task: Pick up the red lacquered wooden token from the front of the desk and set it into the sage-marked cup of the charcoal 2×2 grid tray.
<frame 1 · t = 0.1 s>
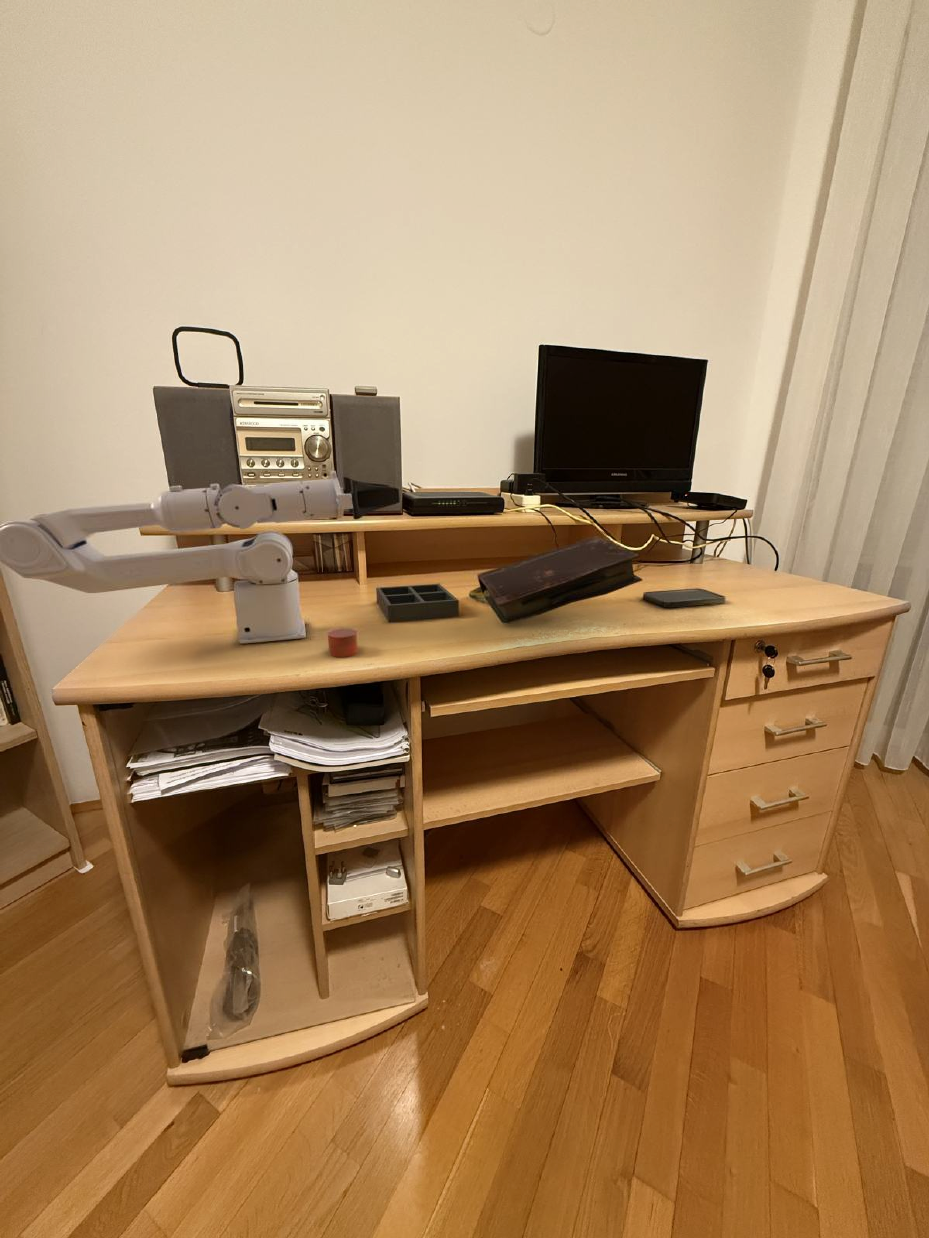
hand: (394, 493, 77), 22 cm above the table, tool horizontal, fingers open, 7 cm apart
token: (343, 652, 71), on the table
grid: (416, 609, 92), on the table
diary: (556, 590, 90), point 4 cm above the table, touching seal
phone: (683, 601, 100), on the table
seal: (505, 592, 98), point 2 cm above the table, touching diary
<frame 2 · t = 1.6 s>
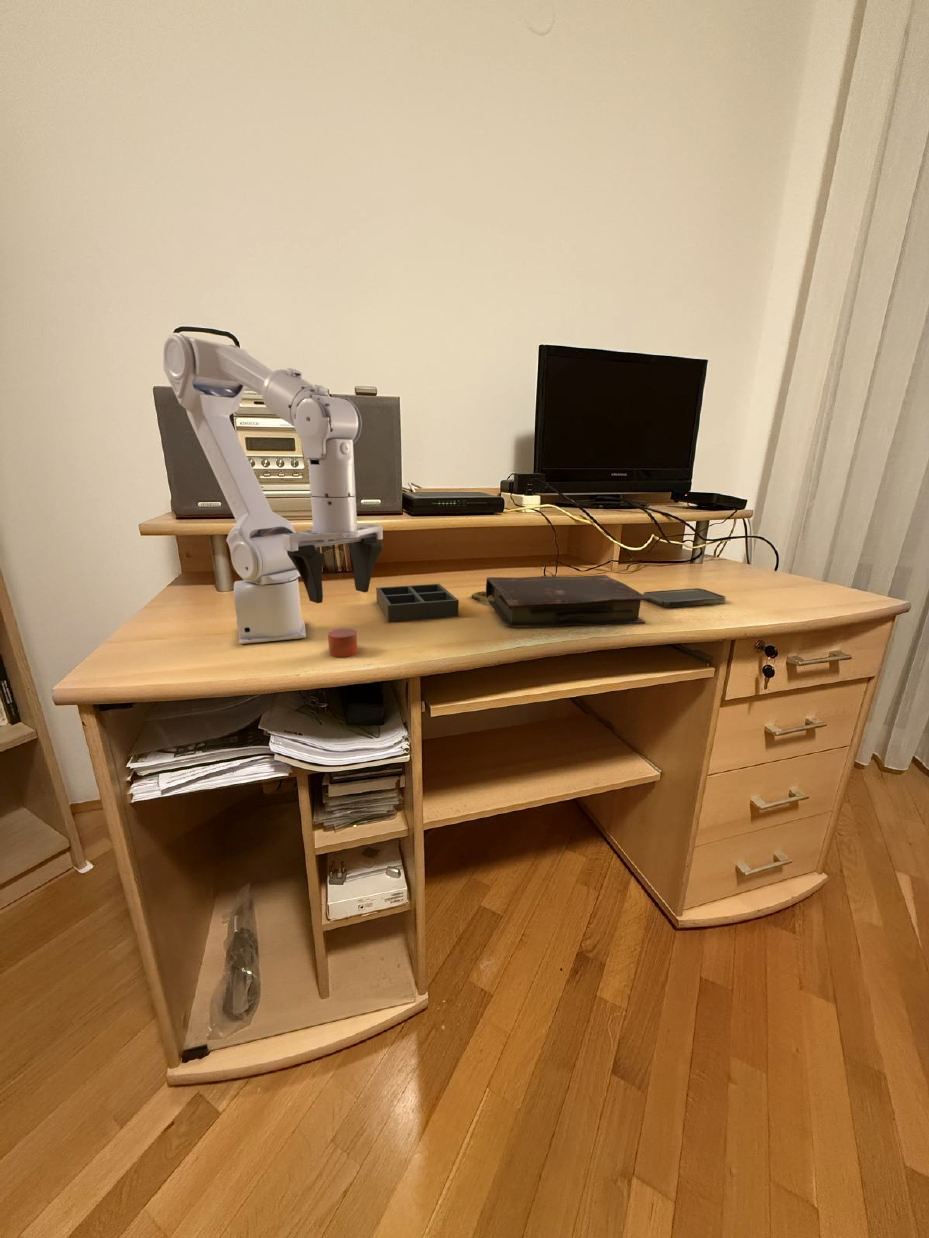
hand: (339, 596, 68), 8 cm above the table, tool pointing down, fingers open, 7 cm apart
diary: (560, 612, 92), on the table, touching seal
seal: (508, 603, 99), on the table, touching diary
everything else where it was.
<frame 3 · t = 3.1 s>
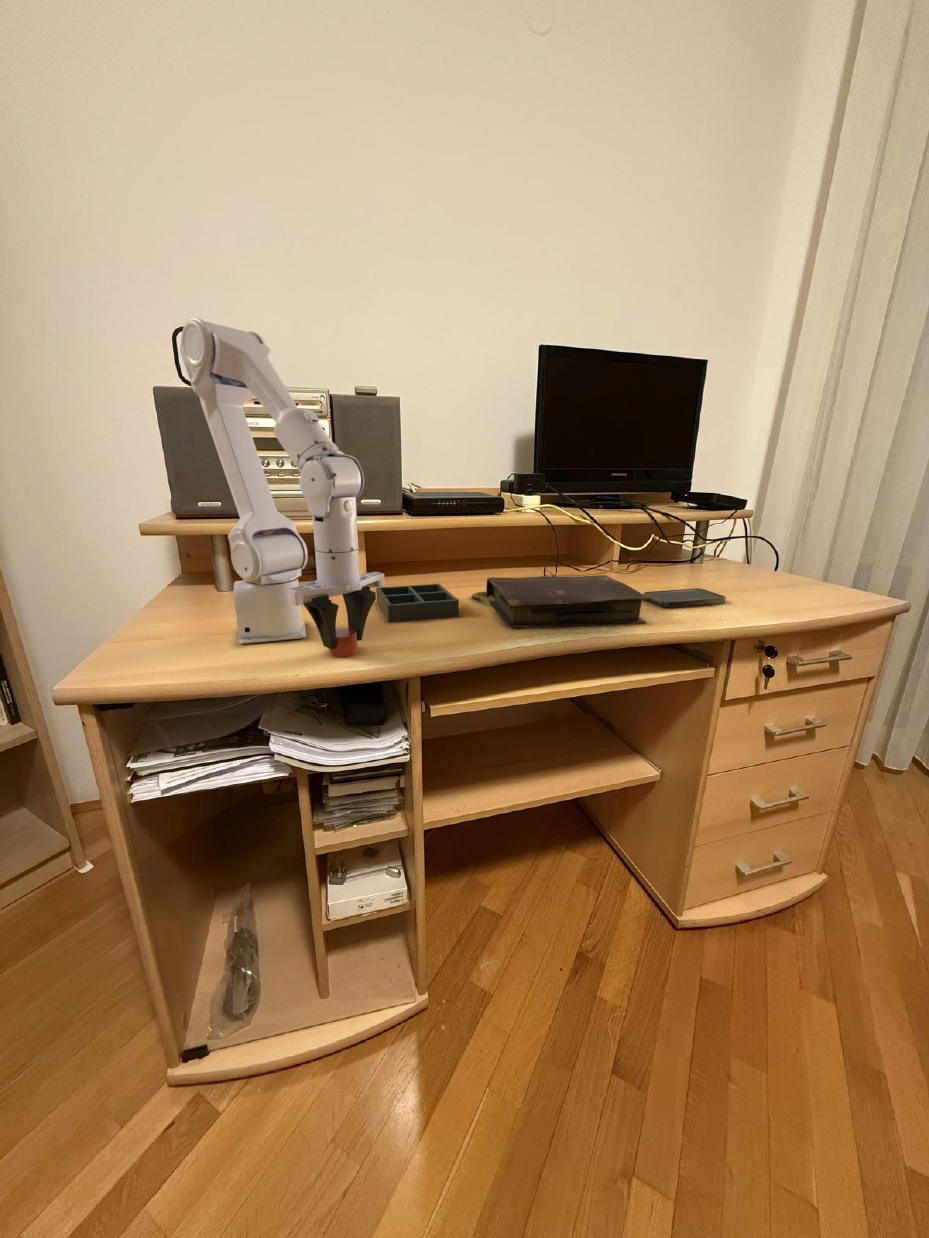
hand: (342, 643, 70), 1 cm above the table, tool pointing down, fingers closed on token, 4 cm apart
token: (343, 651, 71), on the table, touching gripper
everything else where it was.
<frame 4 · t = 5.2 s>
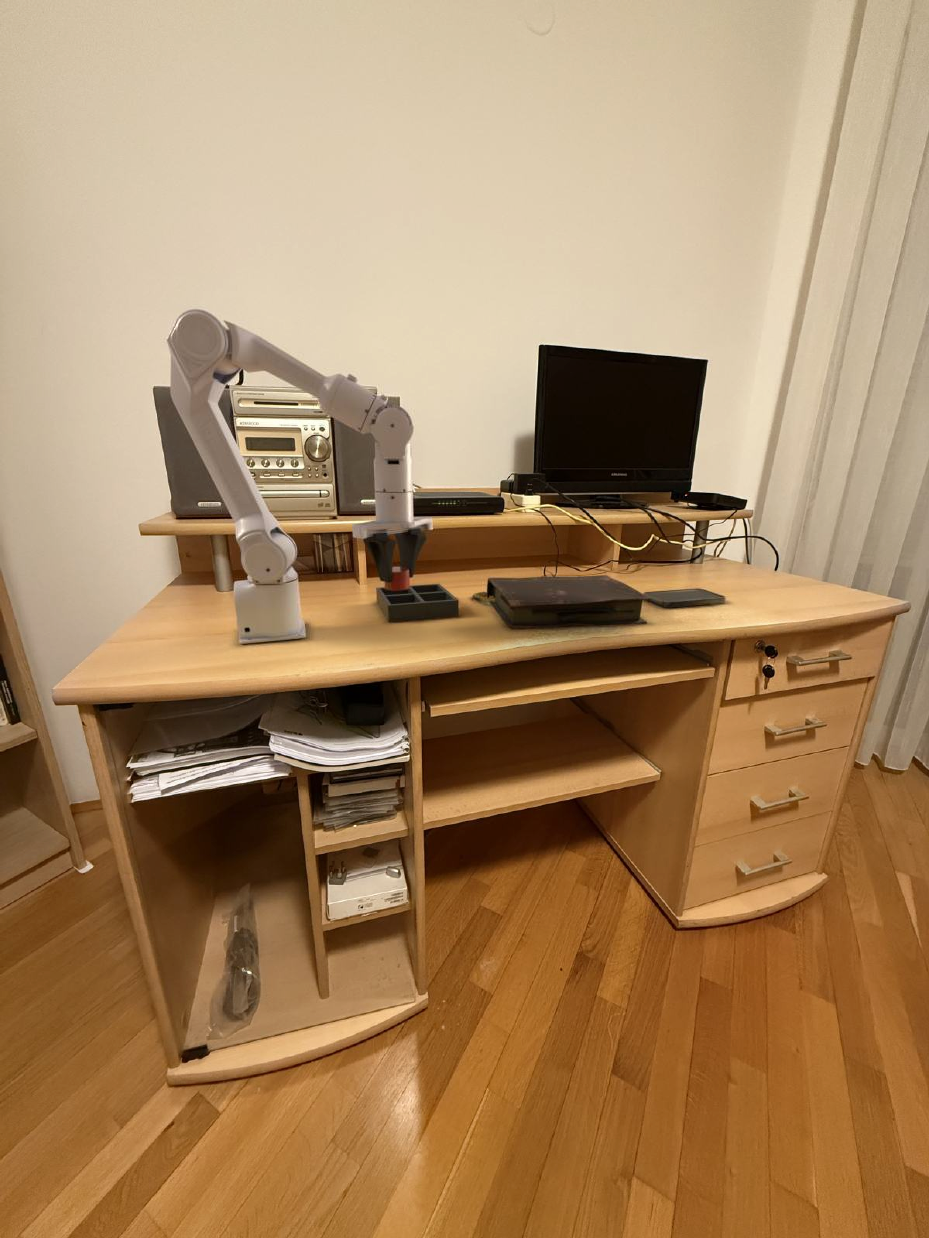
hand: (396, 579, 78), 8 cm above the table, tool pointing down, fingers closed on token, 4 cm apart
token: (397, 587, 79), point 7 cm above the table, touching gripper
everything else where it was.
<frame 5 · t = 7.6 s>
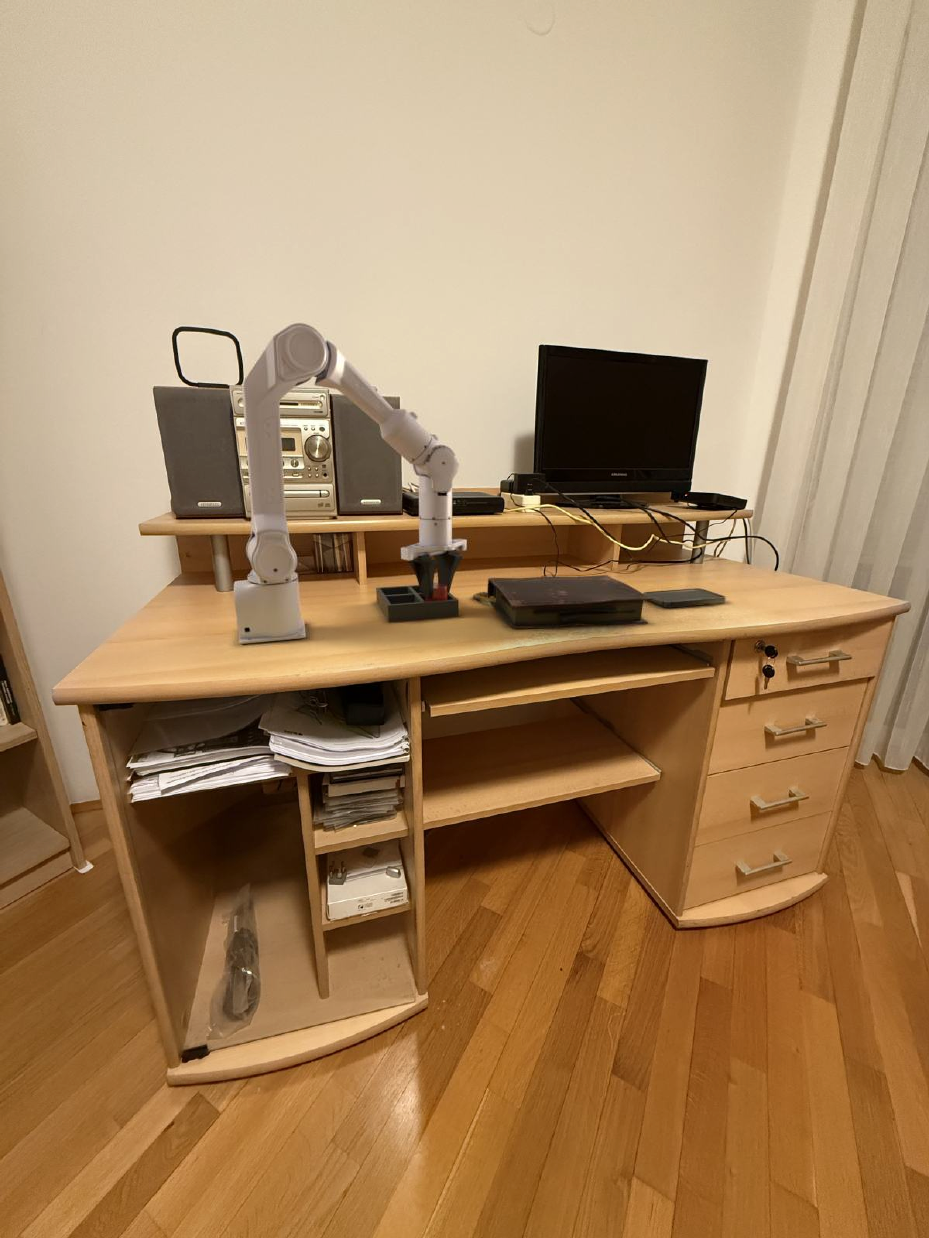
hand: (435, 594, 89), 3 cm above the table, tool pointing down, fingers closed on token, 4 cm apart
token: (436, 601, 89), point 2 cm above the table, touching gripper
everything else where it was.
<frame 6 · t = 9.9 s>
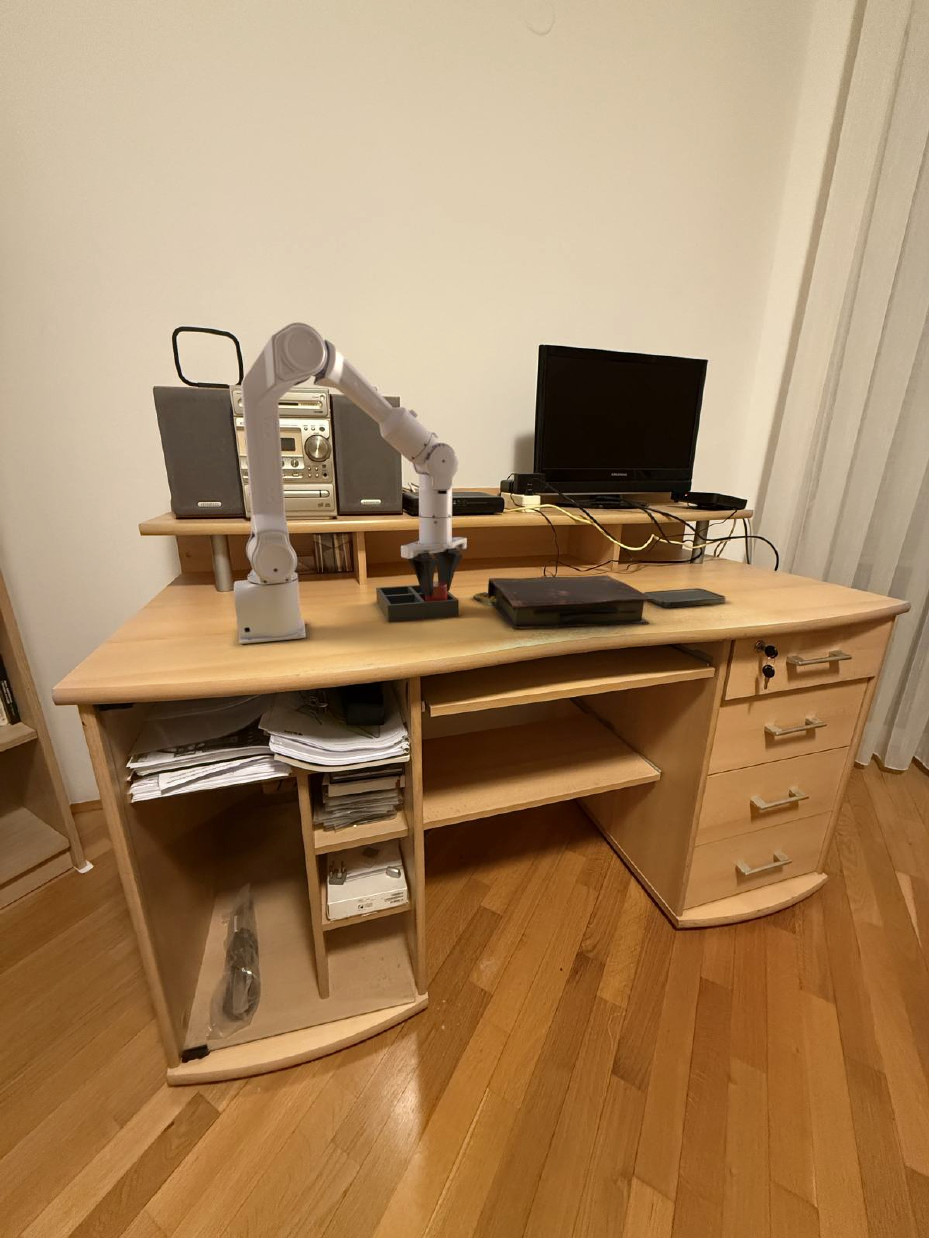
hand: (435, 592, 89), 4 cm above the table, tool pointing down, fingers closed on token, 4 cm apart
token: (436, 599, 89), point 2 cm above the table, touching gripper
everything else where it was.
when the fingers open (4 cm above the table, at t = 12.1 s): token drops 2 cm, resting on grid.
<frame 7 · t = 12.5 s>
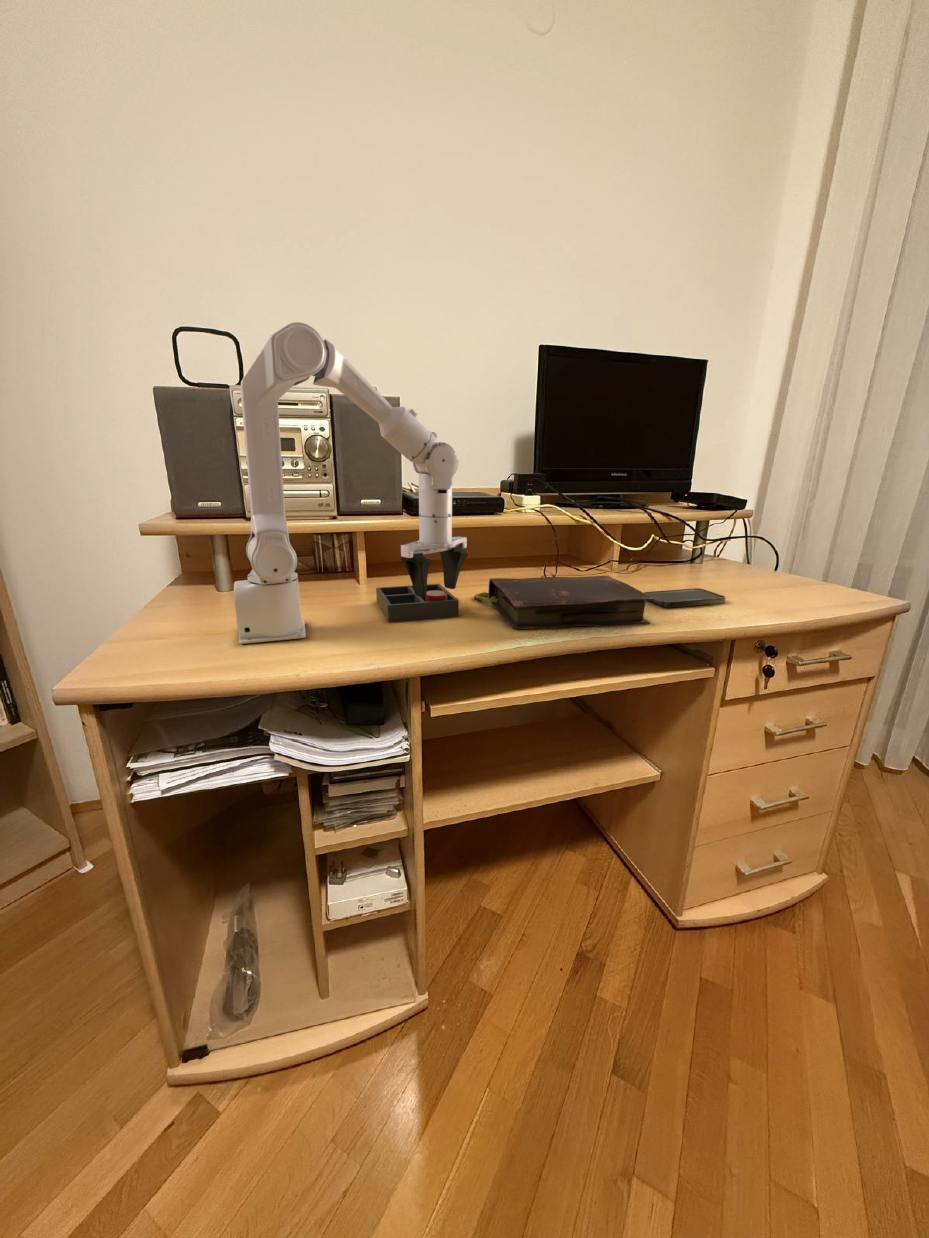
hand: (435, 591, 89), 4 cm above the table, tool pointing down, fingers open, 7 cm apart
token: (436, 608, 90), point 1 cm above the table, touching grid
everything else where it was.
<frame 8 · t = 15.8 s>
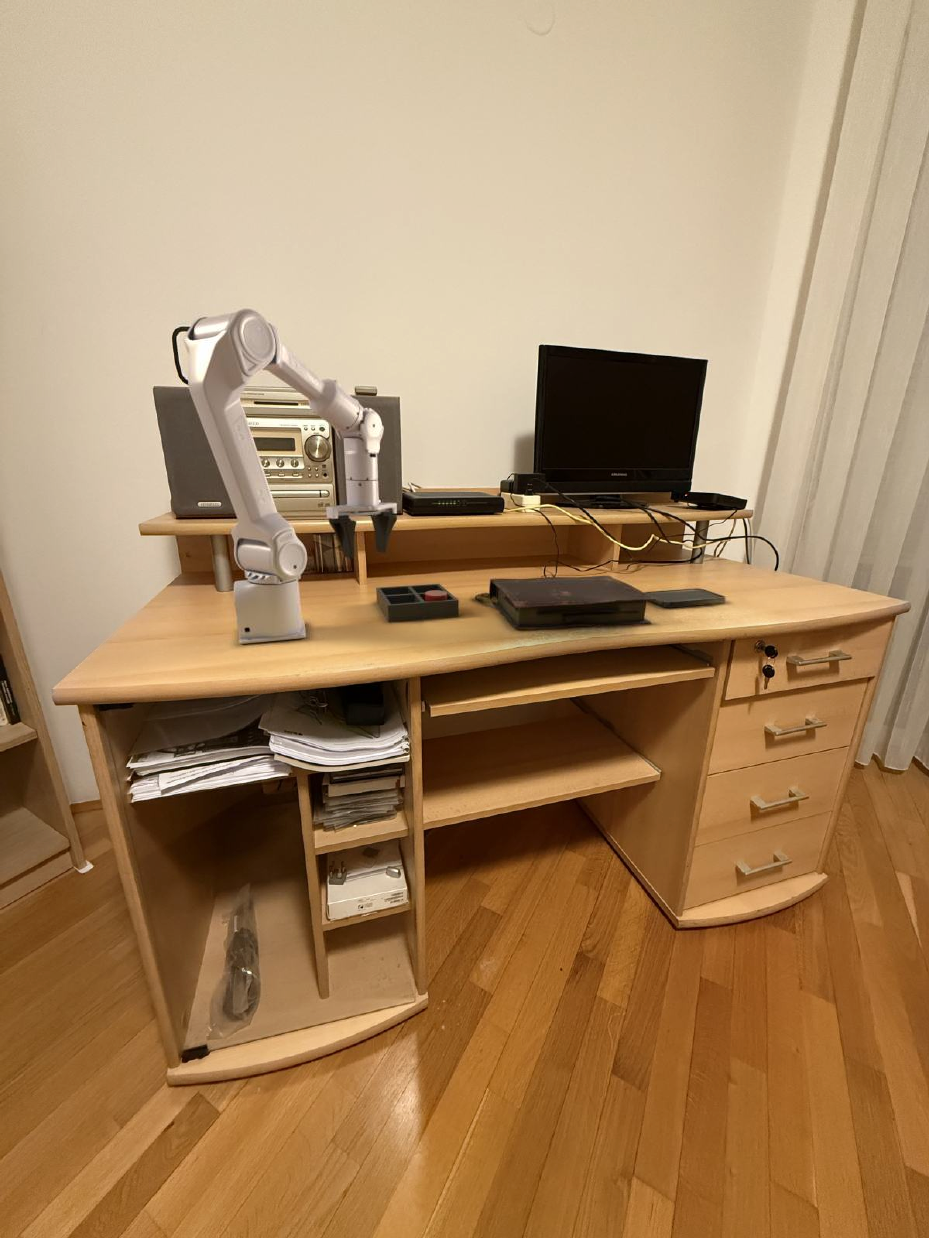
hand: (365, 554, 93), 9 cm above the table, tool pointing down, fingers open, 7 cm apart
at the end: token 0.1 cm from the target spot in the grid, point 0.7 cm above the grid's base; token tilted 0° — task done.
